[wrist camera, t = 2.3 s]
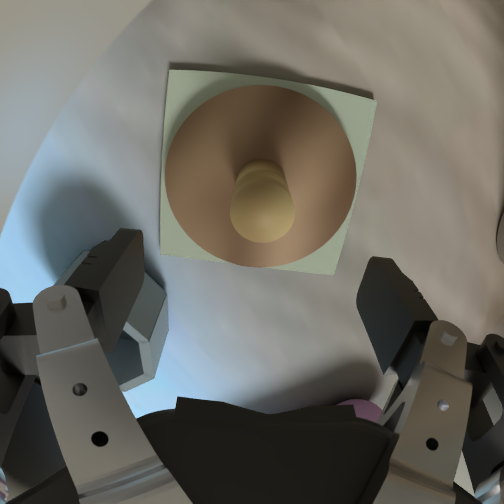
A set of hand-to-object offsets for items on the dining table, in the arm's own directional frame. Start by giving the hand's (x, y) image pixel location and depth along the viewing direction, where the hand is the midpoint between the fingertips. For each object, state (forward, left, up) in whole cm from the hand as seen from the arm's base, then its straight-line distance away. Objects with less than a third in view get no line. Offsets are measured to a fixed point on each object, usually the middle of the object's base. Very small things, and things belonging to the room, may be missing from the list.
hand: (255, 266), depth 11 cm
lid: (0, 0, -10) cm, 10 cm away
